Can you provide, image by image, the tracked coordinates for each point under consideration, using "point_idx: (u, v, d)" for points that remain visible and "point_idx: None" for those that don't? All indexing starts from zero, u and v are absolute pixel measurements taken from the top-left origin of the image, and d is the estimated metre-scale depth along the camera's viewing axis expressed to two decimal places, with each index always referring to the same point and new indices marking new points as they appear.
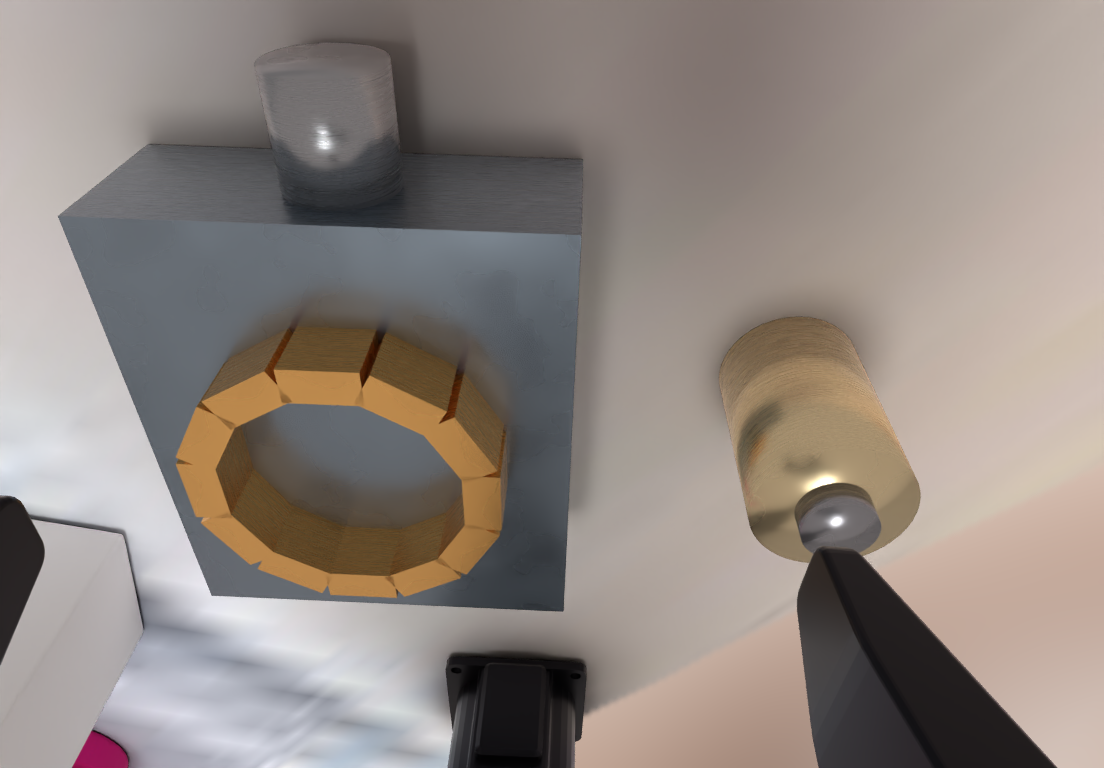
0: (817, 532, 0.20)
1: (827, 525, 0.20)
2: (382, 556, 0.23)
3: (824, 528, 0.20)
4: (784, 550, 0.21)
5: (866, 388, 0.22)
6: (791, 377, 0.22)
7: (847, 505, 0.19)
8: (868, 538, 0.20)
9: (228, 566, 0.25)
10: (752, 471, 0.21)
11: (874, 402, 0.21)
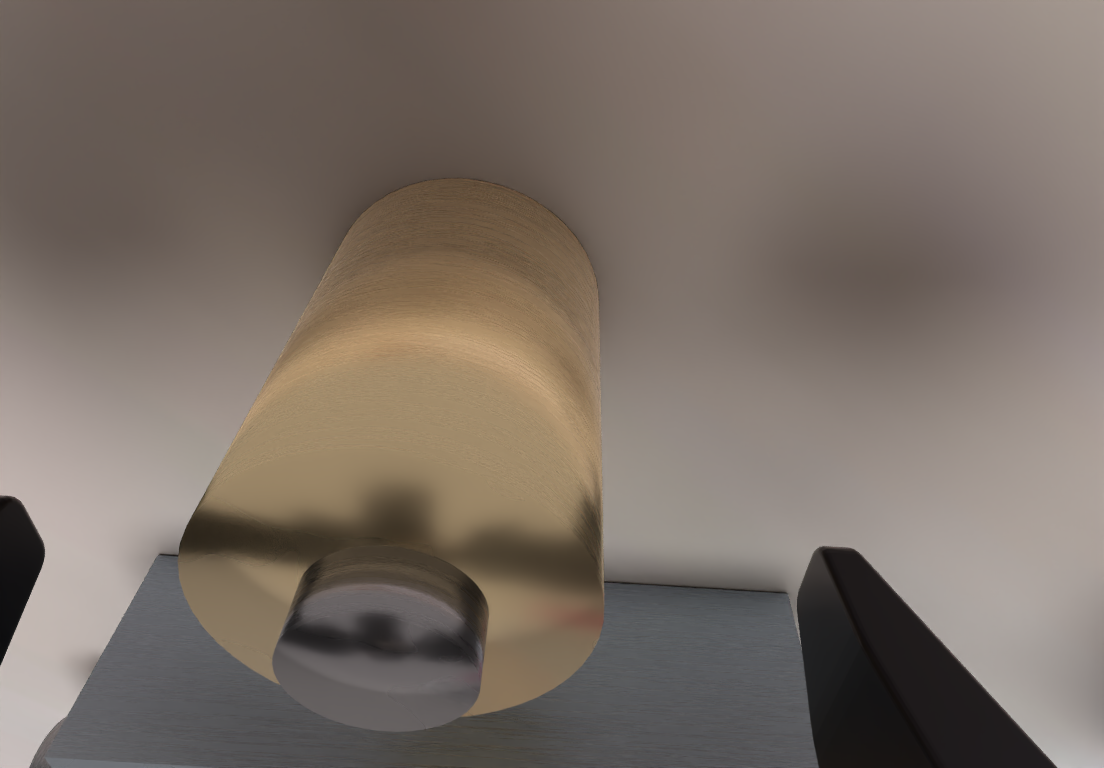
0: (386, 710, 0.08)
1: (356, 698, 0.08)
2: None
3: (368, 702, 0.08)
4: (553, 667, 0.09)
5: (289, 339, 0.10)
6: None
7: (276, 675, 0.07)
8: (387, 634, 0.07)
9: None
10: None
11: (278, 360, 0.09)
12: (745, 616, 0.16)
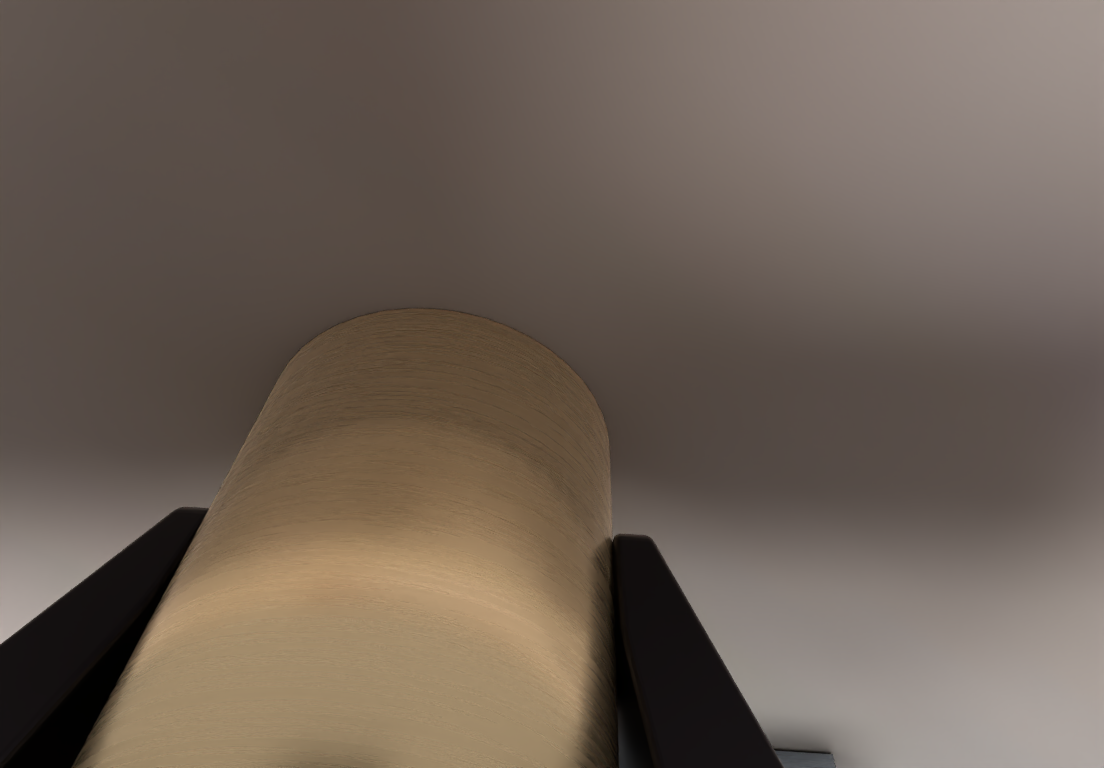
0: None
1: None
2: None
3: None
4: None
5: (178, 568, 0.07)
6: None
7: None
8: None
9: None
10: None
11: (155, 616, 0.06)
12: None
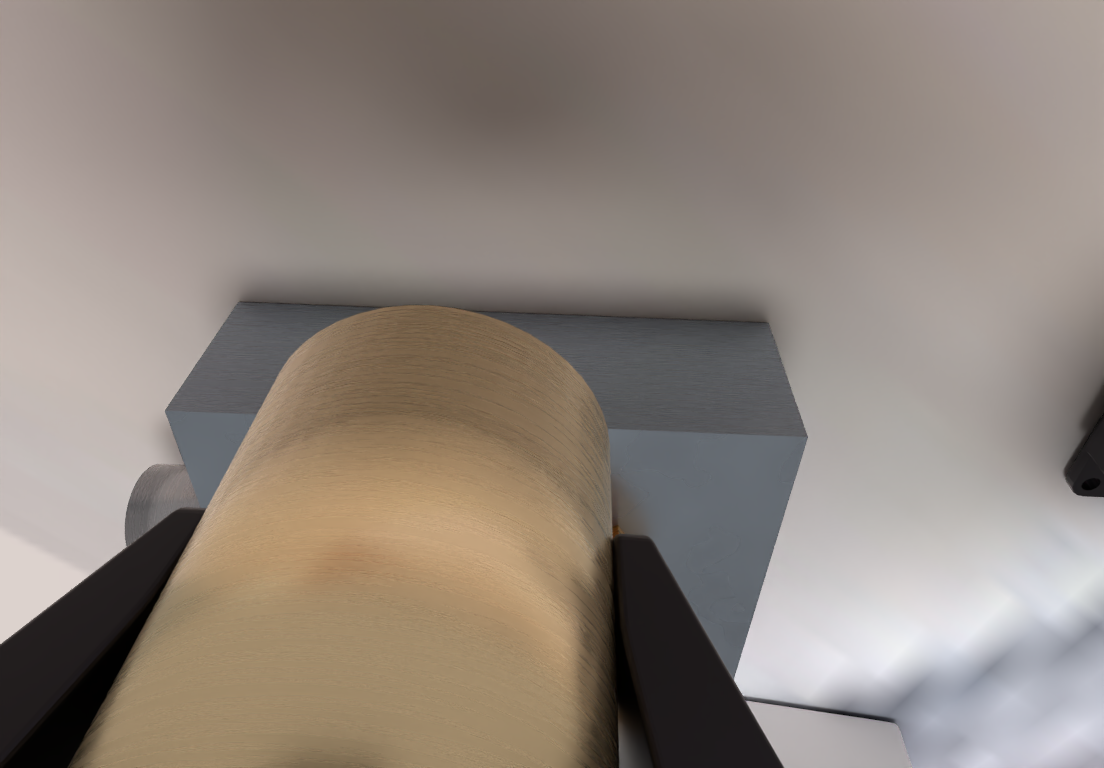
0: None
1: None
2: None
3: None
4: None
5: (177, 565, 0.07)
6: None
7: None
8: None
9: None
10: None
11: (153, 613, 0.06)
12: (732, 335, 0.20)
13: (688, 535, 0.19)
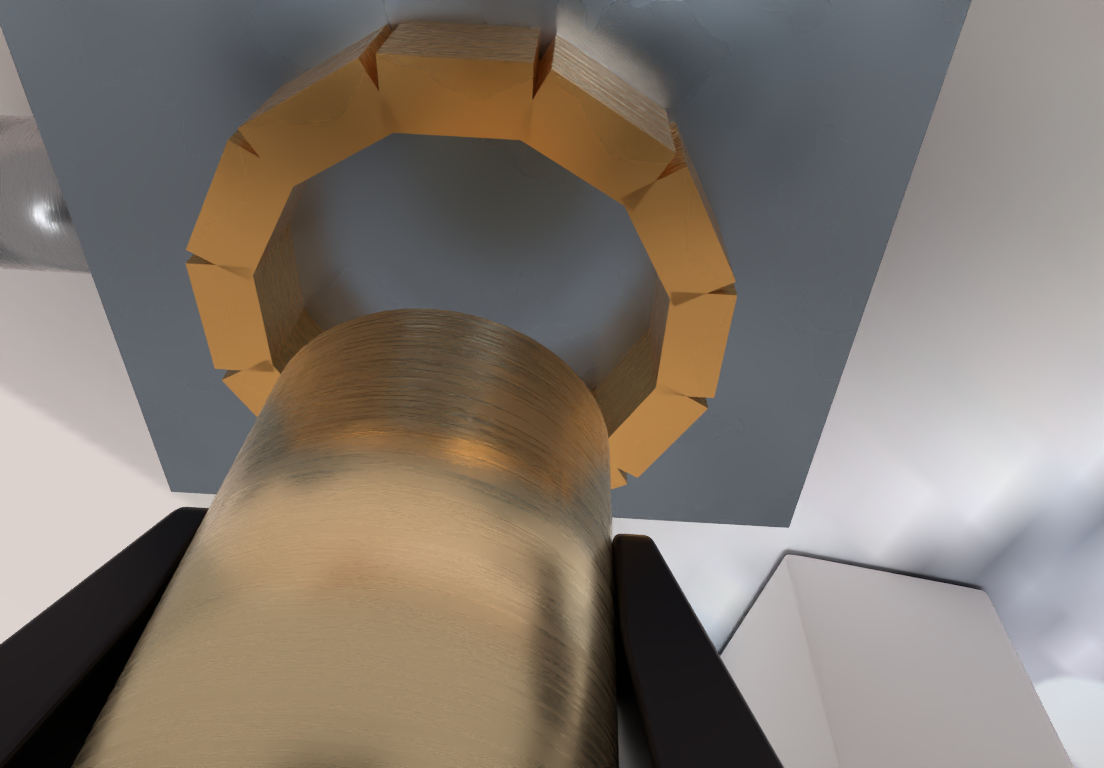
0: None
1: None
2: (663, 294, 0.13)
3: None
4: None
5: (177, 569, 0.07)
6: None
7: None
8: None
9: (725, 493, 0.17)
10: None
11: (154, 616, 0.06)
12: None
13: (781, 145, 0.12)
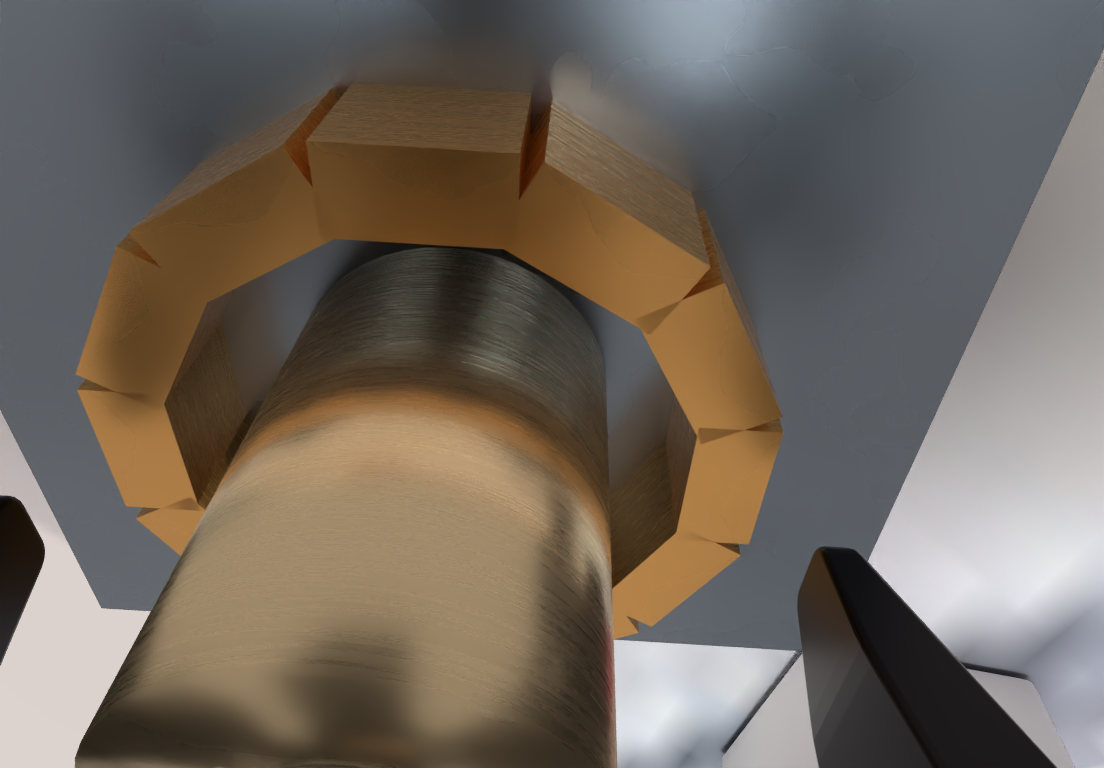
0: None
1: None
2: (686, 419, 0.10)
3: None
4: None
5: (235, 456, 0.08)
6: None
7: None
8: None
9: (752, 617, 0.14)
10: None
11: (219, 488, 0.07)
12: None
13: (839, 236, 0.09)
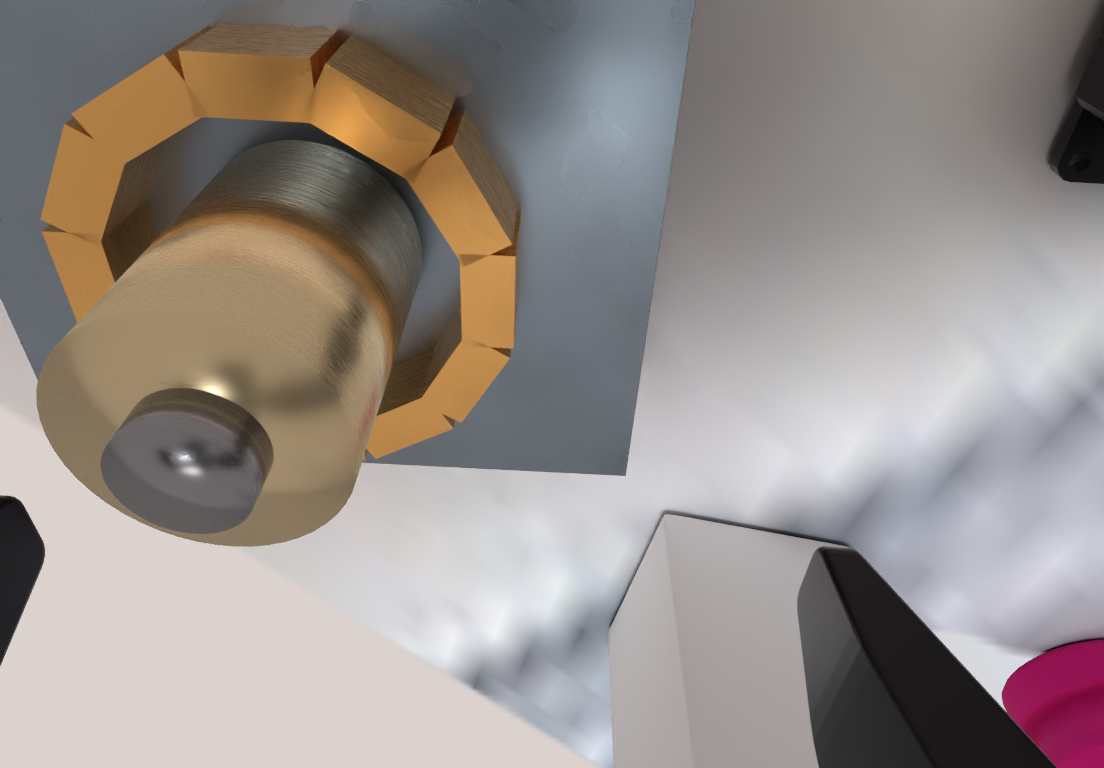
0: (192, 513, 0.11)
1: (168, 503, 0.10)
2: None
3: (177, 506, 0.11)
4: (332, 495, 0.11)
5: None
6: None
7: (106, 483, 0.10)
8: (177, 442, 0.10)
9: (564, 444, 0.19)
10: None
11: None
12: None
13: (559, 129, 0.14)
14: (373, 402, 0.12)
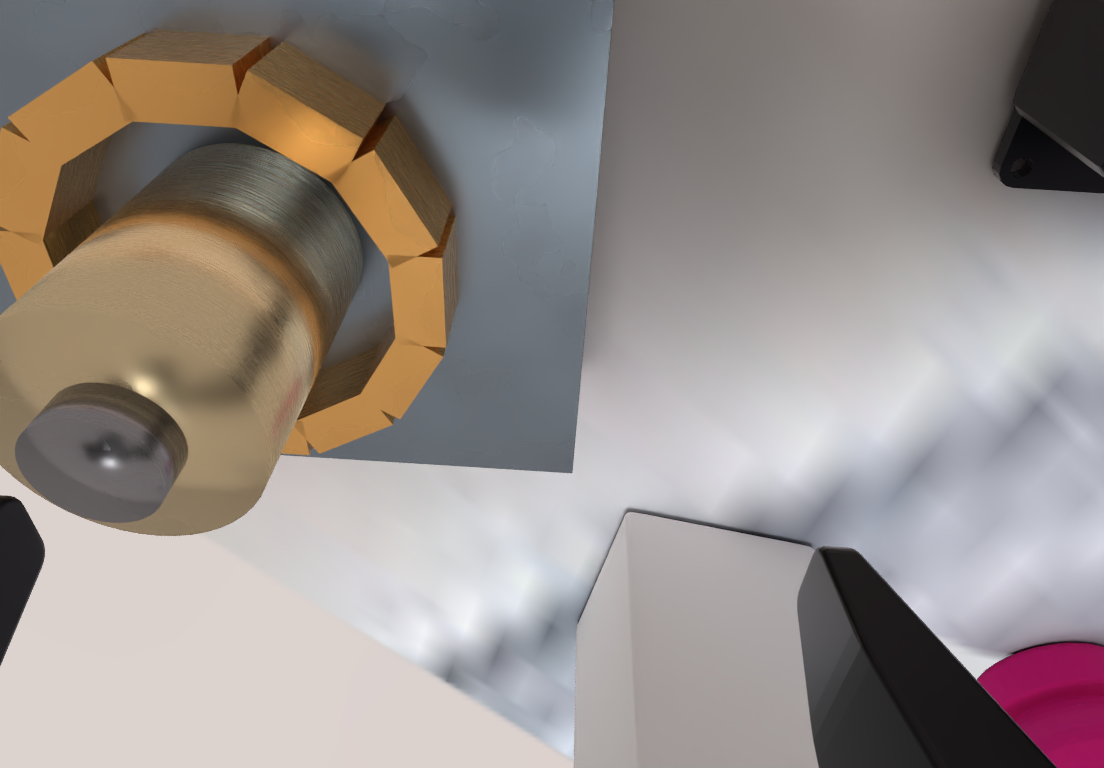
0: (106, 503, 0.11)
1: (83, 492, 0.11)
2: None
3: (91, 495, 0.11)
4: (247, 487, 0.12)
5: None
6: None
7: (22, 473, 0.11)
8: (85, 435, 0.10)
9: (510, 441, 0.19)
10: None
11: None
12: None
13: (488, 134, 0.14)
14: (290, 398, 0.12)
